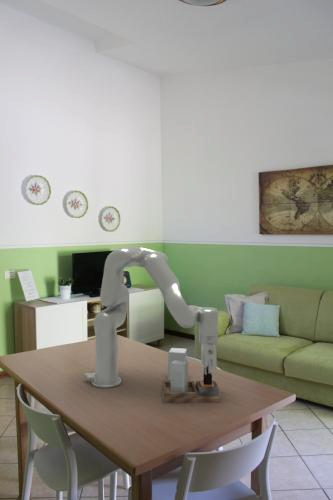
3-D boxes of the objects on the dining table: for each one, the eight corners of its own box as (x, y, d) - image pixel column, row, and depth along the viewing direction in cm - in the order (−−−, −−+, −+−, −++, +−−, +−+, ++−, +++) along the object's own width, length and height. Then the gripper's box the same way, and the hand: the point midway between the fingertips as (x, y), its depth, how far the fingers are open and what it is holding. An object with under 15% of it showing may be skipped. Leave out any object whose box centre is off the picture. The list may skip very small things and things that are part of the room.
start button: (201, 392, 171) (201, 386, 171) (199, 387, 176) (199, 381, 176) (214, 392, 171) (214, 386, 171) (212, 387, 176) (212, 381, 176)
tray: (163, 403, 165) (163, 391, 165) (161, 389, 179) (161, 378, 179) (220, 402, 167) (220, 390, 167) (213, 388, 181) (213, 378, 181)
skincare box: (188, 391, 174) (188, 362, 173) (184, 395, 170) (184, 365, 169) (174, 388, 176) (174, 359, 175) (169, 392, 172) (170, 362, 172)
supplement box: (184, 381, 189) (184, 353, 188) (167, 380, 190) (167, 351, 189) (186, 375, 196) (187, 348, 195) (170, 374, 197) (171, 347, 197)
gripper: (221, 343, 165) (220, 390, 166) (214, 334, 180) (213, 377, 181) (201, 343, 165) (201, 391, 166) (196, 334, 180) (195, 377, 181)
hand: (207, 383), depth 173 cm, fingers closed
